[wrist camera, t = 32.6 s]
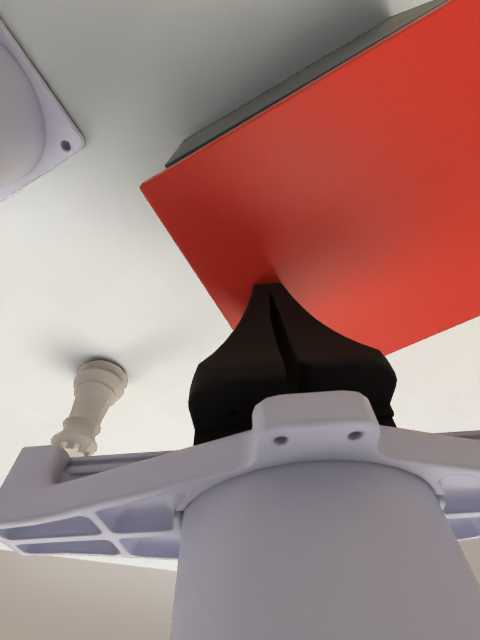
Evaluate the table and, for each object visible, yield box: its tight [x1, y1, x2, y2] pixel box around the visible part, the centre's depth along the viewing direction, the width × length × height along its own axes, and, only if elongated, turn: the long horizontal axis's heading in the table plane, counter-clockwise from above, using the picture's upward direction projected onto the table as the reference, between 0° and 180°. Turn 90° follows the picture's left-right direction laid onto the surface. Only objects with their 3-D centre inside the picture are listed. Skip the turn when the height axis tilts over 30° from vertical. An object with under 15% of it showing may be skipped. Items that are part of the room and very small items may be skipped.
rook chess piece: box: [51, 360, 128, 457], centre depth 26 cm, size 4×4×8 cm
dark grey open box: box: [165, 0, 448, 169], centre depth 17 cm, size 12×14×6 cm
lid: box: [140, 0, 480, 356], centre depth 14 cm, size 12×14×1 cm
